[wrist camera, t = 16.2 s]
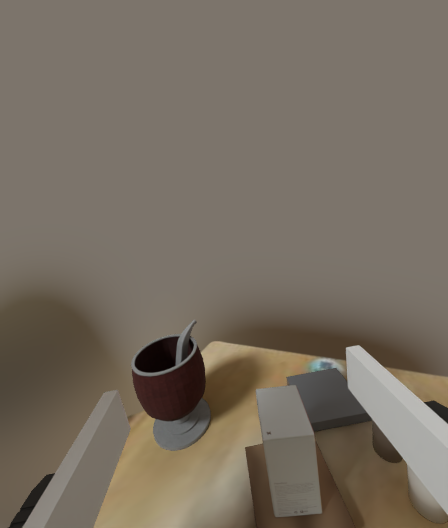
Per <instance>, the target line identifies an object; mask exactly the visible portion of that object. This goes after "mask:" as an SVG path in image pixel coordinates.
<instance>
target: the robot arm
mask: <svg viewBox="0 0 448 528" xmlns="http://www.w3.org/2000/svg"><path fill="white" fill-rule="evenodd" d="M346 360H347V379H348V389H349V390H350V391H351V393H352V394H353V395H354V396H355V398H356V399H357V400H358V402H359V403H360V404H361V405H362V407H363V408H364V409H365V410H366V412H367V413H368V414H369V416H370V417H371V418H372V419H373V421H374V422H375V423H376V424H377V426H378V427H379V428H380V430H381V431H382V432H383V433H384V435H385V436H386V437H387V438H388V440H389V441H390V442H391V444H392V445H393V446H394V447H395V449H396V450H397V451H398V452H399V454H400V455H401V456H402V458H403V459H404V460H405V461H406V463H407V464H408V465H409V466H410V468H411V469H412V470H413V472H414V473H415V474H416V475H417V477H418V478H419V479H420V480H421V482H422V483H423V484H424V486H425V487H426V488H427V489H428V491H429V492H430V493H431V494H432V496H433V497H434V498H435V500H436V501H437V502H438V503H439V505H440V506H441V507H442V508H443V510H444V511H445V512H446V514H447V515H448V408H447V407H445V406H443V405H441V404H439V403H437V402H436V401H429V402H422V401H421V400H420V399H419V398H418V397H417V396H416V395H415V394H413V393H412V392H411V391H410V390H409V389H408V388H407V387H405V386H404V385H403V384H402V383H401V382H400V381H399V380H398V379H396V378H395V377H394V376H393V375H392V374H391V373H390V372H389V371H387V370H386V369H385V368H384V367H383V366H382V365H381V364H379V363H378V362H377V361H376V360H375V359H374V358H373V357H372V356H370V355H369V354H368V353H367V352H366V351H365V350H364V349H363V348H361V347H360V346H359V345H358V346H352V347H347V348H346ZM129 432H130V425H129V422H128V419H127V416H126V413H125V410H124V407H123V405H122V401H121V398H120V395H119V392H118V390H114V391H109V392H104V394H103V395H102V397H101V399H100V400H99V402H98V404H97V405H96V407H95V408H94V410H93V412H92V414H91V415H90V417H89V419H88V420H87V422H86V424H85V425H84V427H83V428H82V430H81V432H80V433H79V435H78V437H77V438H76V440H75V442H74V443H73V445H72V446H71V448H70V450H69V452H68V453H67V455H66V456H65V458H64V460H63V461H62V463H61V465H60V467H59V468H58V470H57V471H56V473H54V474H49V475H46V476H45V477H44V478H43V479H42V480H41V481H40V483H39V484H38V485H37V486H36V487H35V488H34V489H33V490H32V491H31V493H30V495H29V496H28V498H27V499H26V501H25V502H24V504H23V505H22V507H21V508H20V512H18V513H17V514H16V516H15V518H14V519H13V521H12V522H11V525H10V527H9V528H93V527H94V524H95V521H96V519H97V516H98V514H99V511H100V508H101V506H102V503H103V500H104V498H105V495H106V492H107V490H108V487H109V485H110V482H111V479H112V477H113V474H114V471H115V469H116V466H117V463H118V461H119V458H120V455H121V453H122V450H123V448H124V445H125V442H126V440H127V437H128V434H129Z"/></svg>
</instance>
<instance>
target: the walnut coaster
mask: <svg viewBox="0 0 448 528" xmlns="http://www.w3.org/2000/svg"><path fill="white" fill-rule="evenodd" d="M315 443H316V440H315ZM245 450H246V457H247V464H248V471H249V478H250V485H251V492H252V499H253V506H254V513H255V520H256V527H257V528H356V527H355V525H354V523H353V521H352V519H351V516H350V514H349V512H348V510H347V508H346V506H345V503H344V501H343V499H342V497H341V495H340V493H339V490H338V488H337V486H336V484H335V482H334V480H333V477H332V475H331V473H330V471H329V469H328V466H327V464H326V462H325V460H324V458H323V456H322V453H321V451H320V449H319V447H318V445H317V443H316V454H317V464H318V473H319V484H320V494H321V503H322V513H321V514H310V515H299V516H288V517H275V515H274V509H273V503H272V497H271V491H270V485H269V478H268V472H267V465H266V458H265V452H264V446H263V444H260V445H254V446H249V447H245Z"/></svg>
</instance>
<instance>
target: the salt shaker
mask: <svg viewBox="0 0 448 528" xmlns="http://www.w3.org/2000/svg"><path fill="white" fill-rule="evenodd" d="M407 469H408V494H409V499H410V501H411V503H412V505H413V506H414V508H415V509H416V510H417V511H418V512H419V513H420V514H421V515H422V516H423V517H425V518H426V519H428V520H429V521H431V522H434V523H439V524H442V523H445V522H447V521H448V515H447V514H446V512H445V511H444V510H443V508H442V507H441V506H440V505H439V503H438V502H437V501H436V500H435V498H434V497H433V496H432V494H431V493H430V492H429V491H428V489H427V488H426V487H425V486H424V484H423V483H422V482H421V480H420V479H419V478H418V477H417V475H416V474H415V473H414V472H413V470H412V469H411V468H410V466H409V465H408V464H407Z"/></svg>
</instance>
